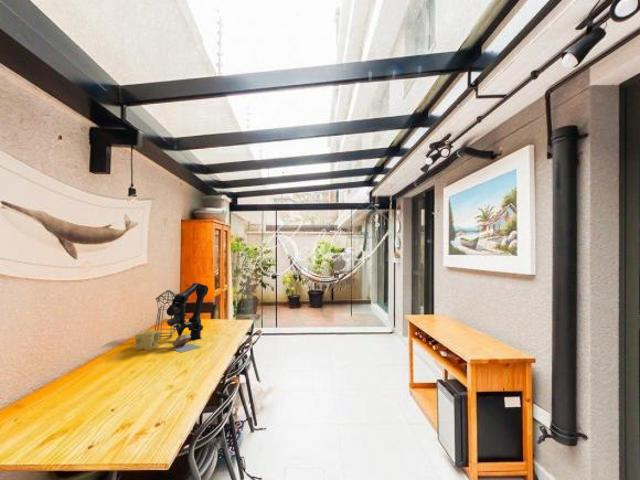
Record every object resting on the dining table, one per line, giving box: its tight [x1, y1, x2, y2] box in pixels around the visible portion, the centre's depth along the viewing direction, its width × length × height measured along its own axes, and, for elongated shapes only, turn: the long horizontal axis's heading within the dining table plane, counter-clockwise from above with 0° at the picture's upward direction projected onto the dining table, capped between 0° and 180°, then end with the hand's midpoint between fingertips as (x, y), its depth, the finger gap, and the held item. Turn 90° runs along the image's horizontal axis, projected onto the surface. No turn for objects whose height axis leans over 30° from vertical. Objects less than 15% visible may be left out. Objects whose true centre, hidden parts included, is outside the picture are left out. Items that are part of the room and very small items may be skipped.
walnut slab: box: [172, 333, 191, 348], centre depth 205 cm, size 8×3×9 cm
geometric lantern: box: [154, 289, 178, 340], centre depth 227 cm, size 16×16×35 cm
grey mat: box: [171, 343, 201, 353], centre depth 202 cm, size 14×12×1 cm
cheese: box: [134, 330, 160, 351], centre depth 202 cm, size 10×11×10 cm
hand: (179, 336), depth 206 cm, fingers closed
